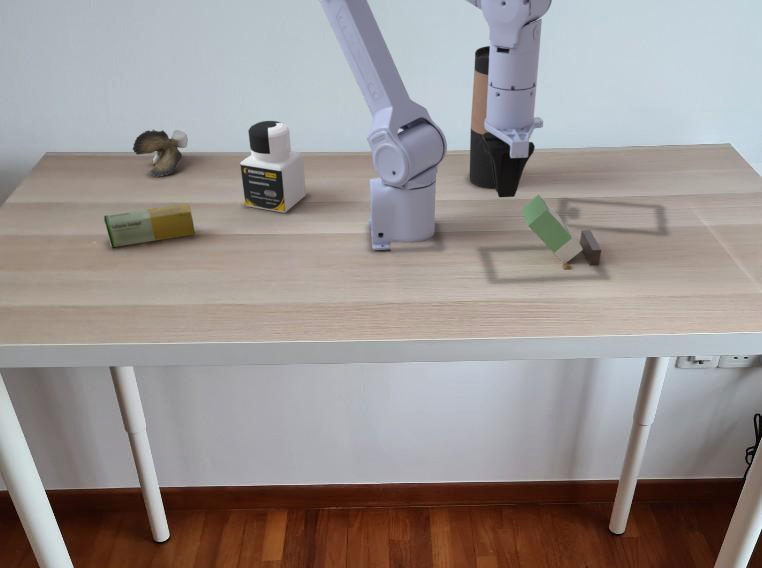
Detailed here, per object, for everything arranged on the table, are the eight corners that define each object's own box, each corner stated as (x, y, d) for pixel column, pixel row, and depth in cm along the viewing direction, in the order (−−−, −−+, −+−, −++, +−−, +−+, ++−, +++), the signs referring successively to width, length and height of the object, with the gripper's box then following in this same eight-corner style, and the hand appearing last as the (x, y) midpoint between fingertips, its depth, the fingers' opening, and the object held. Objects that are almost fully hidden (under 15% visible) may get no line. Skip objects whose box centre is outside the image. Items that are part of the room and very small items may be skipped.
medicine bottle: (244, 206, 125) (234, 129, 118) (267, 189, 130) (259, 114, 123) (285, 214, 123) (277, 136, 115) (306, 196, 128) (300, 120, 121)
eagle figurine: (142, 149, 141) (123, 159, 133) (160, 114, 138) (141, 121, 130) (181, 174, 143) (164, 185, 135) (199, 140, 140) (183, 149, 132)
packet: (527, 225, 104) (546, 209, 103) (520, 209, 108) (538, 193, 107) (564, 264, 108) (583, 249, 106) (556, 246, 112) (574, 232, 110)
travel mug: (522, 177, 134) (534, 49, 121) (501, 193, 129) (512, 61, 116) (481, 167, 137) (489, 42, 125) (459, 182, 132) (465, 54, 120)
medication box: (110, 249, 114) (104, 224, 111) (109, 239, 116) (102, 214, 113) (196, 235, 117) (191, 210, 114) (193, 225, 119) (188, 201, 116)
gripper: (559, 100, 89) (547, 215, 98) (533, 65, 101) (525, 170, 109) (496, 103, 89) (490, 217, 97) (477, 67, 101) (473, 172, 109)
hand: (505, 193), depth 103 cm, fingers closed
